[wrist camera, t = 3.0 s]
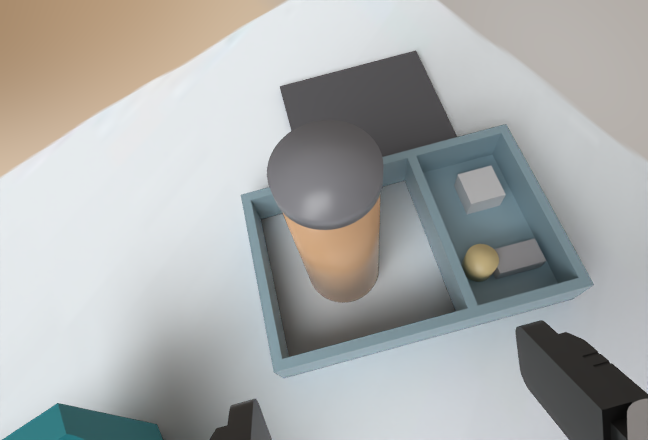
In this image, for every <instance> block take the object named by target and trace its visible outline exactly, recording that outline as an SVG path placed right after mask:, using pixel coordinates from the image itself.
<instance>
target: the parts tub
mask: <svg viewBox="0 0 648 440" xmlns="http://www.w3.org/2000/svg"><path fill="white" fill-rule="evenodd" d="M382 158H383V186H386V185H390V184H393V183H397V182H401V181H405V182H406V185H407V187H408V190H409V192H410V195H411V198H412V200H413V203H414V205H415V208H416V210H417V213H418V216H419V218H420V221H421V223H422V226H423V228H424V231H425V234H426V236H427V239H428V241H429V244H430V247H431V249H432V252H433V254H434V257H435V259H436V262H437V265H438V267H439V270H440V272H441V275H442V277H443V280H444V283H445V285H446V288H447V290H448V293H449V296H450V298H451V301H452V303H453V306H454V308H455V311H456V312H452V313H449V314H445V315H441V316H438V317H434V318H430V319H427V320H423V321H419V322H416V323H412V324H408V325H405V326H401V327H397V328H394V329H390V330H386V331H383V332H379V333H375V334H372V335H368V336H364V337H361V338H357V339H353V340H350V341H346V342H342V343H339V344H335V345H331V346H328V347H324V348H320V349H317V350H313V351H310V352H306V353H302V354H299V355H295V356H291V357H289V354H288V350H287V345H286V340H285V335H284V330H283V325H282V320H281V315H280V310H279V306H278V301H277V296H276V291H275V286H274V281H273V276H272V271H271V266H270V262H269V257H268V252H267V247H266V242H265V237H264V232H263V227H262V222H261V219H263V218H267V217H270V216H274V215H278V214H281V213H282V211H281V210H280V208H279V207H278V205H277V203H276V201H275V199H274V197H273V194H272V192H271V190H270V187H268V188H265V189H261V190H257V191H253V192H250V193H246V194H242V195H241V199H242V204H243V209H244V215H245V220H246V225H247V231H248V236H249V241H250V247H251V252H252V257H253V263H254V268H255V273H256V279H257V284H258V290H259V295H260V300H261V306H262V311H263V316H264V322H265V327H266V332H267V338H268V343H269V348H270V354H271V359H272V365H273V370H274V373H276V374H277V375H279V376H281V377H282V378H286V377H290V376H294V375H297V374H301V373H305V372H308V371H312V370H316V369H319V368H323V367H327V366H330V365H334V364H337V363H341V362H345V361H348V360H352V359H356V358H359V357H363V356H367V355H370V354H374V353H378V352H381V351H385V350H389V349H392V348H396V347H399V346H403V345H407V344H410V343H414V342H418V341H421V340H425V339H429V338H432V337H436V336H440V335H443V334H447V333H451V332H454V331H458V330H461V329H465V328H469V327H472V326H476V325H480V324H483V323H487V322H491V321H494V320H498V319H502V318H505V317H509V316H513V315H516V314H520V313H524V312H527V311H531V310H534V309H538V308H542V307H545V306H549V305H553V304H556V303H560V302H564V301H567V300H571V299H574V298H575V297H577V296H578V295H580V294H581V293H583V292H584V291H586V290H587V289H588V288H590V287H591V286H593V285H594V284H593V282H592V280H591V278H590V277H589V275H588V273H587V271H586V269H585V267H584V266H583V264H582V262H581V260H580V258H579V256H578V255H577V253H576V251H575V249H574V247H573V245H572V244H571V242H570V240H569V238H568V236H567V234H566V233H565V231H564V229H563V227H562V225H561V224H560V222H559V220H558V218H557V216H556V214H555V213H554V211H553V209H552V207H551V205H550V203H549V202H548V200H547V198H546V196H545V194H544V192H543V191H542V189H541V187H540V185H539V183H538V181H537V180H536V178H535V176H534V174H533V172H532V170H531V169H530V167H529V165H528V163H527V161H526V160H525V158H524V156H523V154H522V152H521V150H520V149H519V147H518V145H517V143H516V141H515V139H514V138H513V136H512V134H511V132H510V130H509V128H508V127H507V125H506V124H505V125H501V126H497V127H493V128H490V129H486V130H482V131H478V132H475V133H471V134H467V135H463V136H460V137H456V138H452V139H448V140H445V141H441V142H437V143H433V144H430V145H426V146H422V147H418V148H415V149H411V150H407V151H403V152H400V153H396V154H392V155H388V156H385V157H382Z"/></svg>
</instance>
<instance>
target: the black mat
mask: <svg viewBox="0 0 648 440" xmlns="http://www.w3.org/2000/svg"><path fill="white" fill-rule="evenodd" d="M280 89H281V93H282V97H283V100H284V104H285V108H286V112H287V115H288V119H289V123H290V127H291V130H292V131H293V130H294V129H296V128H298V127H300V126H302V125H304V124H308V123H311V122H315V121H321V120H336V121H343V122H347V123H350V124H353V125H355V126H357V127H359V128H361V129H362V130H364V131H365V132H366V133H368V134H369V135H370V136H371V137H372V138H373V139H374V141H375V142H376V144H377V145H378V147H379V149H380V151H381V154H382V157H385V156H388V155H392V154H396V153H400V152H403V151H407V150H411V149H415V148H418V147H422V146H426V145H430V144H433V143H437V142H441V141H445V140H448V139H452V138H456V137H457V136H456V134H455V132H454V130H453V128H452V126H451V123H450V121H449V119H448V117H447V115H446V113H445V111H444V109H443V107H442V105H441V102H440V100H439V98H438V96H437V94H436V92H435V90H434V88H433V86H432V83H431V81H430V79H429V77H428V75H427V73H426V71H425V69H424V67H423V65H422V62H421V60H420V58H419V56H418V54H417V52H416V51H413V52H409V53H405V54H401V55H398V56H394V57H390V58H386V59H382V60H379V61H375V62H371V63H367V64H363V65H360V66H356V67H352V68H348V69H344V70H341V71H337V72H333V73H329V74H325V75H322V76H318V77H314V78H310V79H306V80H303V81H299V82H295V83H291V84H287V85H284V86H280Z"/></svg>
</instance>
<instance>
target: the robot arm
mask: <svg viewBox="0 0 648 440" xmlns="http://www.w3.org/2000/svg"><path fill="white" fill-rule="evenodd" d="M516 341H517V349H518V357H519V365H520V371H521V375H522V377H523V380H524V382H525V384H526V386H527V387H528V389H529V390H530V392H531V393H532V394H533V395H534V397H535V398H536V399H537V400H538V402H539V403H540V404H541V405H542V407H543V408H544V409H545V410H546V411H547V413H548V414H549V415H550V416H551V418H552V419H553V420H554V421H555V423H556V424H557V425H558V426H559V428H560V429H561V430H562V431H563V433H564V434H565V435H566V436H567V437H568V439H569V440H648V394H647V393H646V392H645V391H643V390H642V389H641V388H640V387H639V386H638V385H636V384H635V383H634V382H633V381H632V380H631V379H629V378H628V377H627V376H626V375H625V374H624V373H622V372H621V371H620V370H619V369H618V368H617V367H615V366H614V365H613V364H612V363H611V364H610V363H609V361H608V360H607V359H606V358H605V357H604V356H602V355H601V354H599V353H598V351H597V350H595V349H594V348H593V347H592V346H591V345H590V344H588V343H587V342H586V341H585V340H583V339H581V338H578V337H576V336H574V335H572V334H569V333H567V332H565V333H561V334H558V333H556V332H555V331H554V330H553V329H552V328H551V327H550V326H549V325H548V324H547V323H545V322H544V321H542V320H541V321H537V322H533V323H530V324H526V325H522V326H519V327H517V328H516ZM210 440H272V439H271V436H270V433H269V431H268V428H267V425H266V422H265V420H264V417H263V414H262V411H261V409H260V406H259V403H258V401H257V400H256V399H253V400H249V401H246V402H242V403H238V404H235V405H232V406H231V407H230V411H229V418H228V425H227V426H224V427H220V428H217V429H216V430H215V432H214V433H213V435H212V437H211V438H210Z"/></svg>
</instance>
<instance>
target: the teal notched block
mask: <svg viewBox="0 0 648 440" xmlns="http://www.w3.org/2000/svg"><path fill="white" fill-rule="evenodd" d="M2 440H163V438H162V436H161V433H160V431H159V428H158V426H157V424H153V423H149V422H144V421H139V420H134V419H130V418H125V417H120V416H116V415H111V414H106V413H102V412H97V411H92V410H88V409H83V408H78V407H73V406H69V405H64V404H59V403H57V404H56V405H54V406H53V407H51V408H50V409H48V410H47V411H45V412H43V413H42V414H40V415H39V416H37V417H36V418H34V419H33V420H31V421H30V422H28V423H27V424H25V425H24V426H22V427H21V428H19V429H18V430H16V431H15V432H13V433H12V434H10V435H9V436H7V437H6V438H4V439H2Z"/></svg>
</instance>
